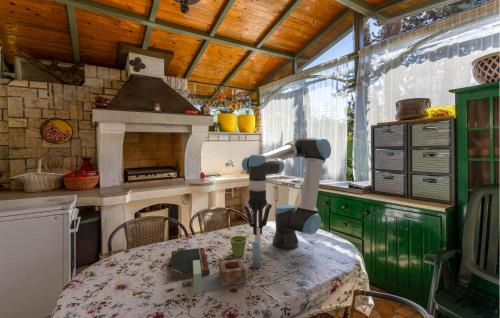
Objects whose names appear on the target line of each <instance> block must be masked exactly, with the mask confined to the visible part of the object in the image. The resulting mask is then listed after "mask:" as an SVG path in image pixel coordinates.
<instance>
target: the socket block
mask: <svg viewBox="0 0 500 318" xmlns="http://www.w3.org/2000/svg"><path fill="white" fill-rule="evenodd" d="M218 273H219V276H220V280H221V283H222V286H229V285H235V284H242V283H246V280H247V278H246V268H245V265H244V264H243V261H242V259H241V258H237V259H231V260H230V259H229V260H228V259H227V260H222V261H218Z"/></svg>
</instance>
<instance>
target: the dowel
mask: <svg viewBox="0 0 500 318" xmlns="http://www.w3.org/2000/svg"><path fill="white" fill-rule="evenodd" d="M251 244H252V268H254V269H259V268H261V267H262V265H261V263H262V260H261V259H262V257H261V256H262V255H261V253H262V252H261V251H262V242H261V241H260V242H259V243H257V242H256V241H255V240H253V241H252V243H251Z"/></svg>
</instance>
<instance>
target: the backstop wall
mask: <svg viewBox="0 0 500 318" xmlns="http://www.w3.org/2000/svg"><path fill="white" fill-rule="evenodd" d="M192 278H193V280H192V281H193V294H199V293H200V294H201V293H202V275H201V266H200V260H194V261H193V277H192Z"/></svg>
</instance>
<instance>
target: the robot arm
mask: <svg viewBox="0 0 500 318" xmlns="http://www.w3.org/2000/svg"><path fill="white" fill-rule="evenodd" d="M331 154H332V147H331V144H330V141H329V140H328V139H327V138H326V137H301V138H297V139H294V140H292V141H289V142H286V143H285V144H284V145H283V146H280V147H278V148H275V149H272V150H269V151H266V152H264V153H262V154H250V156H249V157H247V156H246V157H244V158H243V159H242V160H241V161H242V162H241V168H242V170H243V171H244V172H248V183H249V184H248V186H249V187H248V188H249V190H248V202H247V204H244V205H243V208H244V210H245V213H246V218H247V222H248V225H249V227H250V228H252V234H253V235H254V238H255V239H254V241H256V242H257V243H259V242H261V235H262V234H263V228H264V227H266V226H267V223H268V220H269V219H268V218H269V215H270V210H271V208H272V204H271V203H269V202H268V200H267V190H266V189H267V176H270V175H278V174H282V172H284V170H285V162H284V161H285V160H287V159H294V158H304V161H305V163H306V164H305V171H304V177H303V185H302V191H301V197H300V204H299V205H297V206H295V205H293V204H286V205H279V206H277V207H276V208H275V232H274V235H273V237H272V245H273V247H275V248H276V249H280V250H281V249H282V250H294V249H296V248H297V247H299V239H298V236H297V232H300V233H303V234H306V235H315V234H316V233H317V232H318V231H319V229H320V227H321V224H322V217H321V215H320V214H319V210H318V208H317V202H318V195H319V194H318V193H319V187H320V181H321V174H322V167H323V165H324V164H325V163H326V160H327V159H329V158H330V156H331ZM250 208H251V210H252V216H251V212H250ZM264 208H265V210H264ZM263 211H264V214H263Z"/></svg>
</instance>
